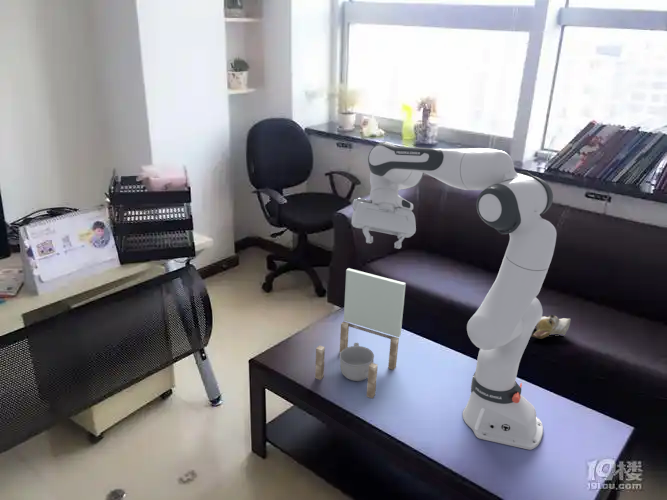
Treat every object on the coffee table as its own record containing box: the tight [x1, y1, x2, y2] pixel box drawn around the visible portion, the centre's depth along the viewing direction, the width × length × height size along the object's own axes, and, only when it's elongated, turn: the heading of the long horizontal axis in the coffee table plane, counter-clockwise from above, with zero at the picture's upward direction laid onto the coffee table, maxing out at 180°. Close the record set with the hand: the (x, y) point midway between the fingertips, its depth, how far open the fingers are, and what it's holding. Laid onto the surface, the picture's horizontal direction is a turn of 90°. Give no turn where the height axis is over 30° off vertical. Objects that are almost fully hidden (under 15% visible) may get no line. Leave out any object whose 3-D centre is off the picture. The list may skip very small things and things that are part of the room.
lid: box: [343, 267, 407, 338], centre depth 188 cm, size 20×19×3 cm
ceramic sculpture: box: [531, 314, 572, 339], centre depth 212 cm, size 11×9×15 cm
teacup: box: [339, 342, 375, 382], centre depth 186 cm, size 14×11×8 cm
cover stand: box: [314, 321, 400, 400], centre depth 185 cm, size 20×20×11 cm
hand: (383, 245), depth 172 cm, fingers open, 8 cm apart
